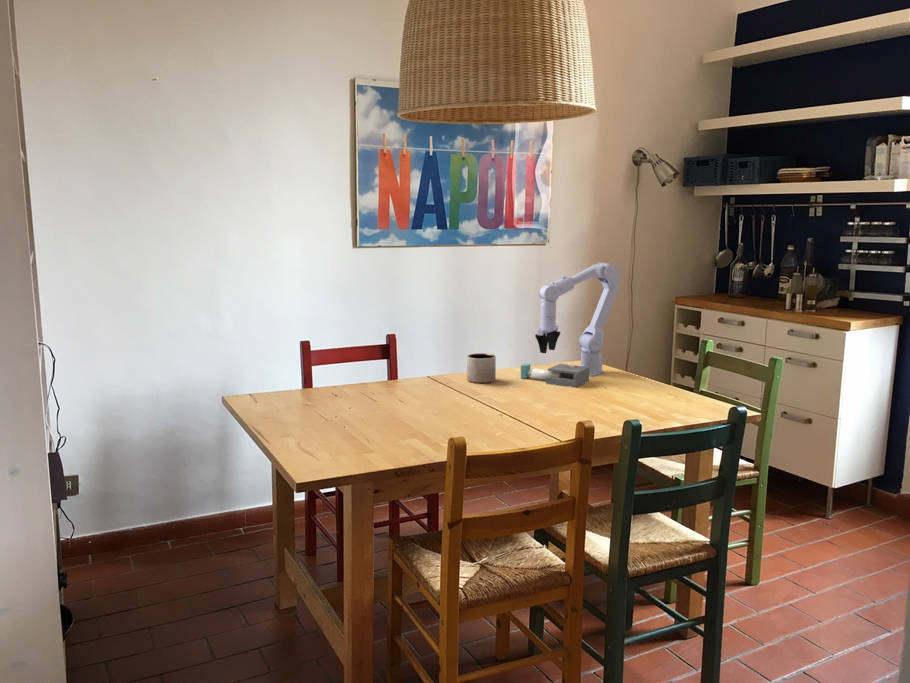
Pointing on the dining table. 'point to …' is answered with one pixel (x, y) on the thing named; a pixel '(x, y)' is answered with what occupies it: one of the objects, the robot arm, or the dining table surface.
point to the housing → (569, 375)
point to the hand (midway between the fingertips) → (547, 351)
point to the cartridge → (538, 373)
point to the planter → (481, 368)
